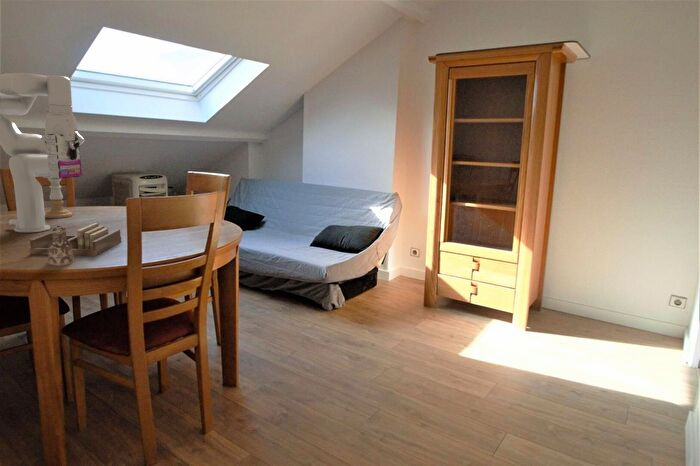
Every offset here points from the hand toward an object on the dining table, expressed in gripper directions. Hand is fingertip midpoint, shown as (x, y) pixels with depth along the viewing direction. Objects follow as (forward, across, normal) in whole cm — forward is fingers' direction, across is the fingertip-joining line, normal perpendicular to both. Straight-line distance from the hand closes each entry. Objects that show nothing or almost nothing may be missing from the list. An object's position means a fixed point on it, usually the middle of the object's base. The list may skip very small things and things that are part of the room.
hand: (64, 158), depth 178 cm
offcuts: (+31, +15, -13) cm, 37 cm away
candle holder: (+32, -28, +46) cm, 62 cm away
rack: (+31, +9, -13) cm, 35 cm away
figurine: (+31, +13, -33) cm, 48 cm away
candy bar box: (+7, 0, 0) cm, 7 cm away
